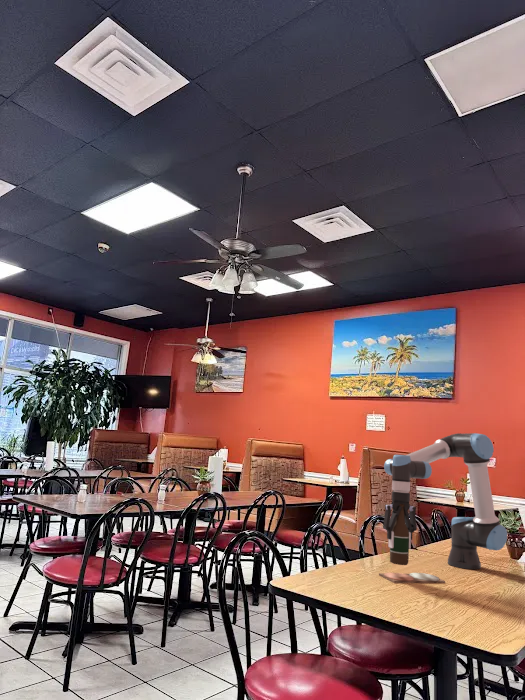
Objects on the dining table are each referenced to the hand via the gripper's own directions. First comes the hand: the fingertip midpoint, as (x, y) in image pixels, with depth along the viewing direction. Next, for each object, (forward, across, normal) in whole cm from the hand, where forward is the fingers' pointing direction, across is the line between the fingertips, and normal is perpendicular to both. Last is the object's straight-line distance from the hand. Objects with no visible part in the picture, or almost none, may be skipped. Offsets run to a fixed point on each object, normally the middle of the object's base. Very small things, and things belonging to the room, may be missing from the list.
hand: (399, 547), depth 212 cm
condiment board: (+12, -6, 0) cm, 14 cm away
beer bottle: (+6, 0, 0) cm, 6 cm away
